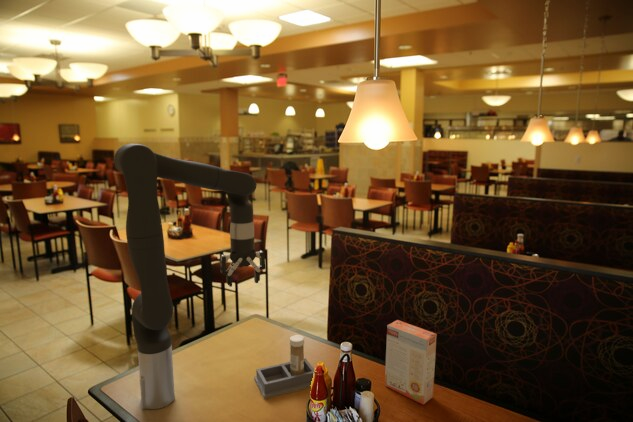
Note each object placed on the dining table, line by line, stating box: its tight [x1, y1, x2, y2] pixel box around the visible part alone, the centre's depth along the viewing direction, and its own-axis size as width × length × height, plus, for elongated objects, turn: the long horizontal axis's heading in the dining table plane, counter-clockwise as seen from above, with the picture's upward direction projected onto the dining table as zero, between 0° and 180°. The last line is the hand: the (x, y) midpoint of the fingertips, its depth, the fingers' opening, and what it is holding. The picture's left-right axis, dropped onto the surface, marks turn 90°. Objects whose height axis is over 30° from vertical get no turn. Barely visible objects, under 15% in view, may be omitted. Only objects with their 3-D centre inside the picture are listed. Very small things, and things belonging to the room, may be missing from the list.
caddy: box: [253, 357, 315, 400], centre depth 134 cm, size 18×11×4 cm, turn 114°
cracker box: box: [384, 319, 438, 406], centre depth 128 cm, size 14×6×21 cm, turn 45°
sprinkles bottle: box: [289, 334, 305, 376], centre depth 134 cm, size 5×5×14 cm
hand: (243, 284), depth 136 cm, fingers open, 8 cm apart
